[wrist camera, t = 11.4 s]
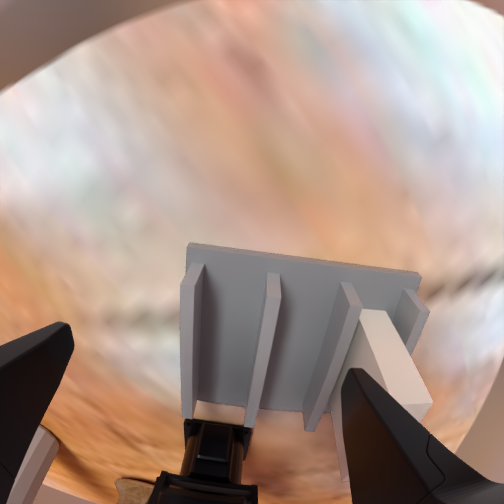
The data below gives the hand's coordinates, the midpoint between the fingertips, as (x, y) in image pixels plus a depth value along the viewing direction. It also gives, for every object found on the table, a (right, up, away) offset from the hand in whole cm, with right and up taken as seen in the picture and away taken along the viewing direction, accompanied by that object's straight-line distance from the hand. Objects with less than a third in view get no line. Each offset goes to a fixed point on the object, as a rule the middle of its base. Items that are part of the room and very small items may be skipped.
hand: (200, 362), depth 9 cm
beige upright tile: (+9, -4, +13) cm, 17 cm away
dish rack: (+5, -4, +14) cm, 15 cm away
